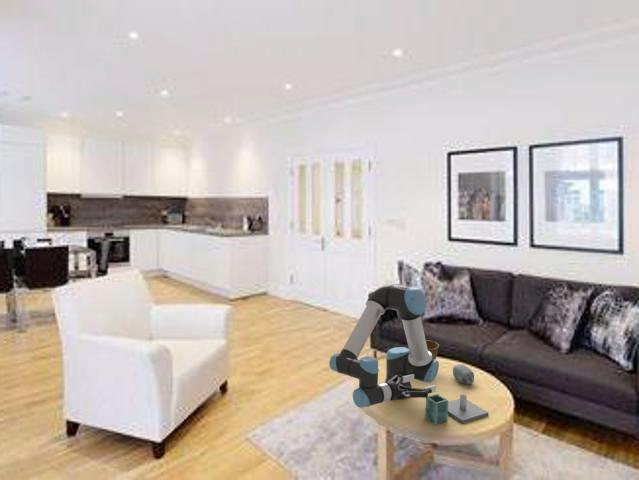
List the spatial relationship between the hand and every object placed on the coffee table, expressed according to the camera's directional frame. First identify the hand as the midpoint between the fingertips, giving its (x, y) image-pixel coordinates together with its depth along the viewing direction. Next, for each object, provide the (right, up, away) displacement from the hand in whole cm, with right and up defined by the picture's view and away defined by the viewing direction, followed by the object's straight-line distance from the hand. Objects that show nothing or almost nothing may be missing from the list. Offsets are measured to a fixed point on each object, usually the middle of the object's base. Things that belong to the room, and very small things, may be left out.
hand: (424, 382), depth 195 cm
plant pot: (+14, -13, +59) cm, 62 cm away
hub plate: (+21, -18, +13) cm, 31 cm away
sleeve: (+7, -19, +6) cm, 21 cm away
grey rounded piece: (+32, -14, +46) cm, 58 cm away
